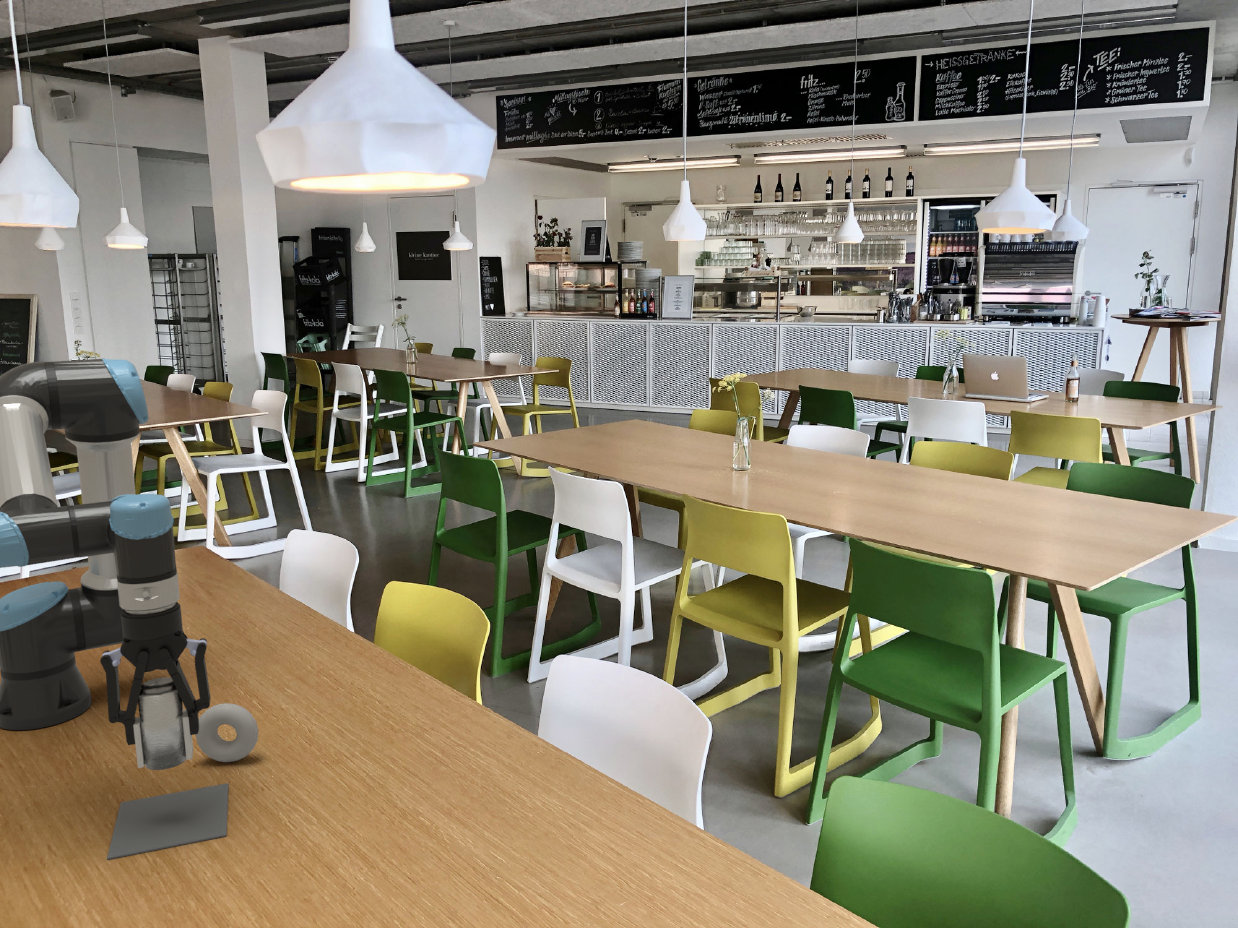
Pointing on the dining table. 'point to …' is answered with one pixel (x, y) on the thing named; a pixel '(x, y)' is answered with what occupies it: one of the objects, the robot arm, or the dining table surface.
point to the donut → (222, 748)
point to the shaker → (161, 724)
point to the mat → (170, 821)
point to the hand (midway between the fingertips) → (166, 758)
